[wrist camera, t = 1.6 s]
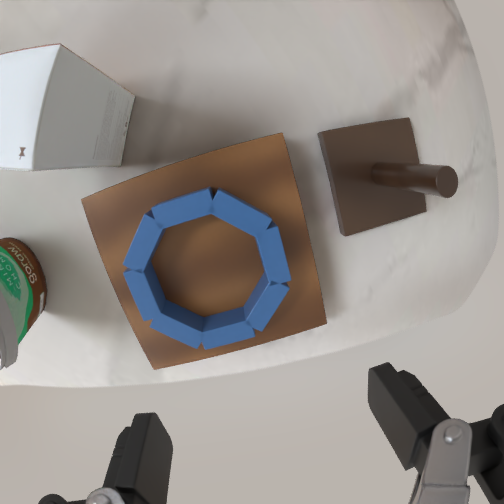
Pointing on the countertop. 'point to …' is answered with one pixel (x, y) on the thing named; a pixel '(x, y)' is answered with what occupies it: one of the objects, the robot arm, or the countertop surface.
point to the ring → (182, 320)
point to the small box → (59, 112)
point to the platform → (211, 245)
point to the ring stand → (380, 174)
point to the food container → (18, 296)
